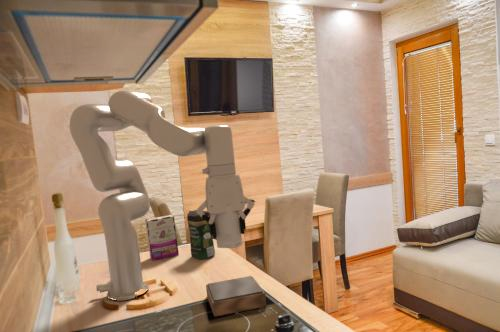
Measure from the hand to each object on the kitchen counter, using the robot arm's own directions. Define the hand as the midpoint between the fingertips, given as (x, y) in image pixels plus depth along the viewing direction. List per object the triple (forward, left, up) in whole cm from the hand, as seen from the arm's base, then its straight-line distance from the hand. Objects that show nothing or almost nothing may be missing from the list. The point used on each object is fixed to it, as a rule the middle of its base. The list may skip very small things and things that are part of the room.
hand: (228, 234), depth 109 cm
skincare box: (0, 0, -4) cm, 4 cm away
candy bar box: (-18, +58, -19) cm, 64 cm away
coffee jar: (-3, +49, -19) cm, 53 cm away
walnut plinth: (0, 0, -19) cm, 19 cm away
